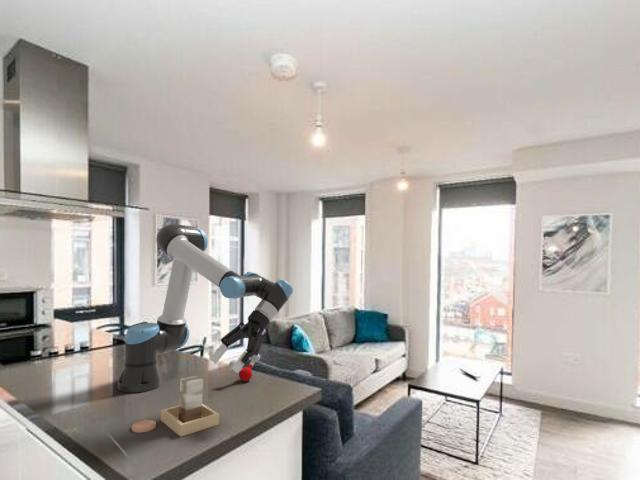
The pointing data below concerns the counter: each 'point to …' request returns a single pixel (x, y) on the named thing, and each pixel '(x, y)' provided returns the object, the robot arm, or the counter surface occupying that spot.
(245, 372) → the molecular model
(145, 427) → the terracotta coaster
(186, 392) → the two-tone block
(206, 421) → the beige open tray
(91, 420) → the counter surface
